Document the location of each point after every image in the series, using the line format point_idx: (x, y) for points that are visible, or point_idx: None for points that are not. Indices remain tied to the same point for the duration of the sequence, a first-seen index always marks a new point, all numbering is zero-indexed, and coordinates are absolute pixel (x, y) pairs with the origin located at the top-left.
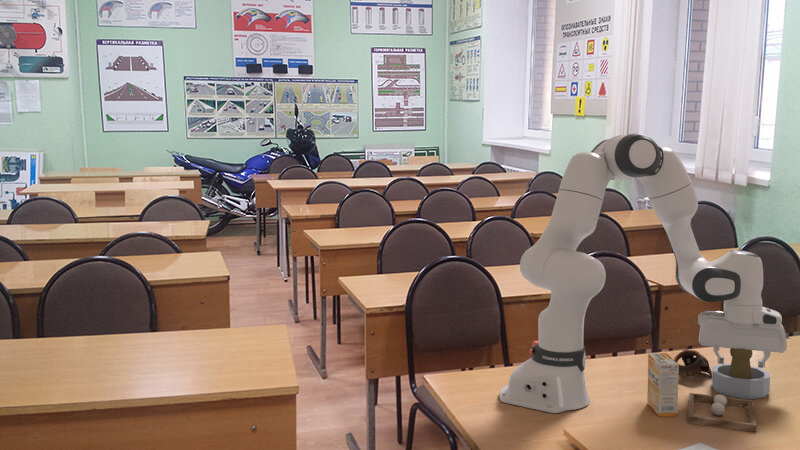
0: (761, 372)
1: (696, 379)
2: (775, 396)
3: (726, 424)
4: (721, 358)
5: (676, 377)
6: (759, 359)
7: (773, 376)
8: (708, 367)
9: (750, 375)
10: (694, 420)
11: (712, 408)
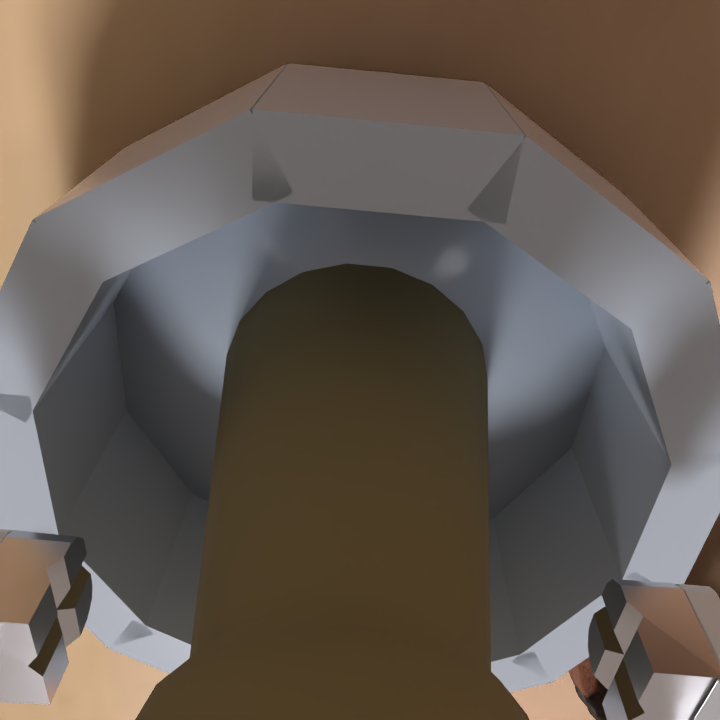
0: (92, 551)
1: (713, 529)
2: (9, 250)
3: None
4: (690, 661)
5: None
6: (25, 693)
7: (68, 679)
8: (597, 685)
9: (227, 429)
10: None
11: None
